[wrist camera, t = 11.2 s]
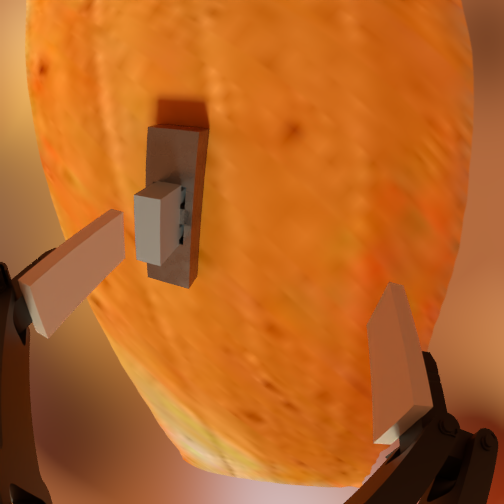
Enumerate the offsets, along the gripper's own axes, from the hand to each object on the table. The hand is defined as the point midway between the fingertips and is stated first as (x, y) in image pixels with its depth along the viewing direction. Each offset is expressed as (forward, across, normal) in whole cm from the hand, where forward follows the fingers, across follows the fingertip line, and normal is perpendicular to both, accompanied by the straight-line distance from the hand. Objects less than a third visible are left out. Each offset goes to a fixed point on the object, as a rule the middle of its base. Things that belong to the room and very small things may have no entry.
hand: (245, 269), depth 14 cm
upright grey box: (+30, -17, -13) cm, 37 cm away
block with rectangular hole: (+31, -17, -13) cm, 37 cm away
